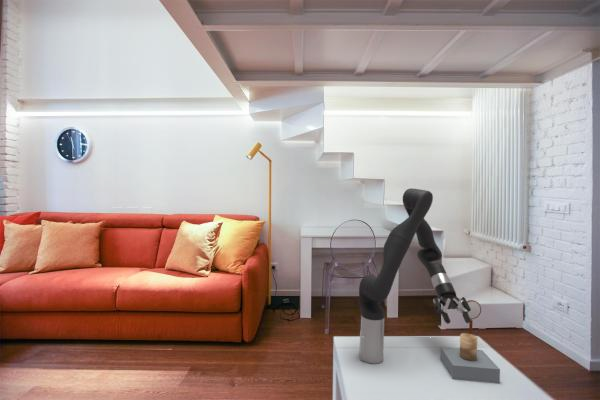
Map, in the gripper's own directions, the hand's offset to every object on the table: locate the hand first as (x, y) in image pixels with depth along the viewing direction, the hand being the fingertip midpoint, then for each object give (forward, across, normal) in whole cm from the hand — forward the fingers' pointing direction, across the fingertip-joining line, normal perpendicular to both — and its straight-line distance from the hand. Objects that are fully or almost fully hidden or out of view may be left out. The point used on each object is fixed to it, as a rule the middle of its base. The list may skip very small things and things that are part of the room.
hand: (458, 322), depth 126 cm
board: (+16, 0, +7) cm, 17 cm away
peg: (+15, 0, +7) cm, 17 cm away
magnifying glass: (+2, +16, +21) cm, 26 cm away
